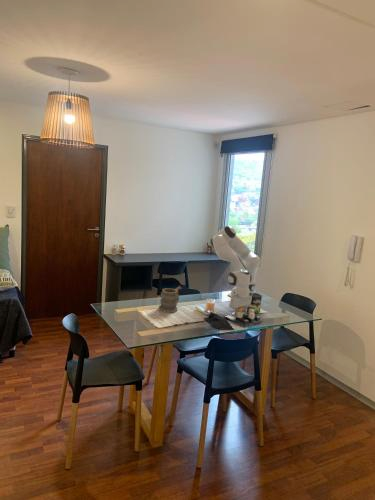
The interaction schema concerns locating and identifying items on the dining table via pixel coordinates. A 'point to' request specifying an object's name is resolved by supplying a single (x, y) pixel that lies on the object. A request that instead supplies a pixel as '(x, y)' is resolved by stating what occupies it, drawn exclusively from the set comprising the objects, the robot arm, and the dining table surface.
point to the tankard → (169, 300)
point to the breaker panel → (243, 319)
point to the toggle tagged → (251, 315)
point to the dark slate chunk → (218, 321)
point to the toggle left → (239, 314)
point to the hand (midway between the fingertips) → (239, 312)
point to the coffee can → (255, 304)
